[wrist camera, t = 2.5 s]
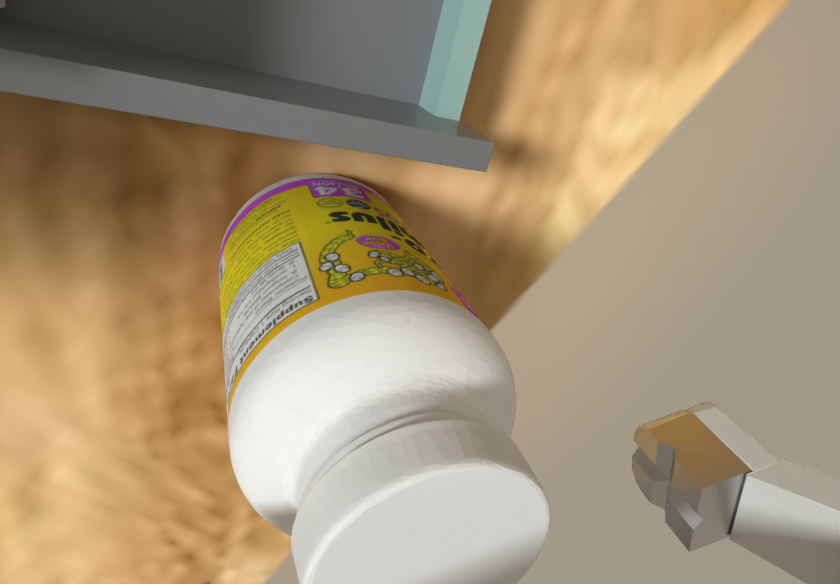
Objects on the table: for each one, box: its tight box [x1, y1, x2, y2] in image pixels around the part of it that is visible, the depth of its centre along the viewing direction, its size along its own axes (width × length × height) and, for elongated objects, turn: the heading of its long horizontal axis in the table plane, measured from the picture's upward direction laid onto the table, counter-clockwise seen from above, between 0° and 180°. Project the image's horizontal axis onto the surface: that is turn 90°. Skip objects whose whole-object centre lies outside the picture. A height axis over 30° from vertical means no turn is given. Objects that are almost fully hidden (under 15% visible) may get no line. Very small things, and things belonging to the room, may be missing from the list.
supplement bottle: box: [218, 173, 550, 584], centre depth 15 cm, size 7×7×13 cm
